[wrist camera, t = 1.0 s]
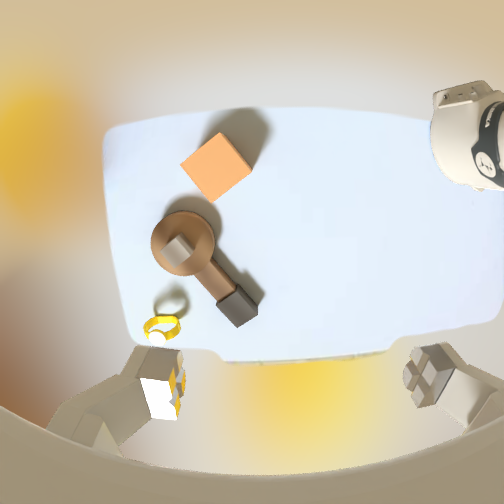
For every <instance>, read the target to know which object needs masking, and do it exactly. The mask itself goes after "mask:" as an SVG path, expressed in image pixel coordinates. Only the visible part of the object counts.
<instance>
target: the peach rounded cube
mask: <svg viewBox="0 0 504 504" xmlns="http://www.w3.org/2000/svg"><path fill="white" fill-rule="evenodd" d="M180 166H181V167H182V168H183V169H184V171H185V172H186V173H187V174H188V175H189V177H190V178H191V179H192V180H193V182H194V183H195V184H196V185H197V187H198V188H199V189H200V190H201V191H202V193H203V194H204V195H205V196H206V198H207V199H208V200H209V201H210V203H212V202H214V201H215V200H216V199H218V198H219V197H220V196H221V195H223V194H224V193H225V192H226V191H228V190H229V189H230V188H232V187H233V186H234V185H235V184H237V183H238V182H239V181H241V180H242V179H243V178H245V177H246V176H247V175H249V174H250V173H251V172H252V168H251V167H250V166H249V165H248V163H247V162H246V161H245V160H244V158H243V157H242V156H241V155H240V153H239V152H238V151H237V150H236V148H235V147H234V146H233V145H232V143H231V142H230V141H229V140H228V138H227V137H226V136H225V135H223V134H222V133H220V132H219V133H218V134H217V135H215V136H214V137H213V138H212V139H210V140H209V141H208V142H207V143H205V144H204V145H203V146H202V147H200V148H199V149H198V150H197V151H196V152H194V153H193V154H192V155H191V156H190V157H188V158H187V159H186V160H185V161H184V162H183V163H181V164H180Z"/></svg>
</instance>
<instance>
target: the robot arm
mask: <svg viewBox="0 0 504 504" xmlns="http://www.w3.org/2000/svg"><path fill="white" fill-rule="evenodd" d="M444 96H445V98H444ZM433 105H434V115H433V119H432V122H431V130H430V139H431V147H432V151H433V155H434V158H435V160H436V162H437V164H438V166H439V168H440V170H441V171H442V172H443V174H444V175H445V176H446V177H447V178H448V179H449V180H451V181H452V182H454V183H456V184H459V185H468V186H470V187H471V188H472V189H474V190H475V191H479V192H482V191H483V190H484V189H485V188H486V189H494V190H504V93H502V92H501V91H499V90H497V91H493V90H492V89H491V87H490V86H489V85H488V84H487V83H486V82H485V81H475V82H471V83H467V84H463V85H459V86H455V87H452V88H448V89H445V90H441V91H438V92H435V93H434V94H433ZM410 358H411V361H409V363H407V364H406V366H405V369H404V371H403V381H404V384H405V386H406V388H407V389H409V390H410V391H412V394H411V397H412V399H413V401H414V402H415V405H416V406H417V408H421V407H426V406H430V405H434V404H435V406H436V407H438V408H439V409H440V410H442V411H443V412H445V413H446V414H447V415H448V416H450V417H451V418H452V419H453V420H455V421H456V422H457V423H459V424H460V425H461V426H463V427H464V428H465V429H466V430H465V431H464V432H463V434H462V435H461V436H459V437H456V438H454V439H451V440H449V441H446V442H444V443H441V444H439V445H436V446H433V447H430V448H427V449H424V450H421V451H418V452H415V453H411V454H408V455H404V456H401V457H397V458H394V459H389V460H385V461H382V462H377V463H373V464H368V465H363V466H357V467H352V468H346V469H339V470H332V471H325V472H316V473H305V474H291V475H231V474H230V475H229V474H216V473H206V472H197V471H189V470H181V469H175V468H170V467H164V466H158V465H153V464H149V463H144V462H140V461H136V460H132V459H128V458H124V456H123V454H122V453H121V451H120V449H119V448H118V446H119V445H121V444H122V443H123V442H124V441H125V440H127V439H128V438H129V437H130V436H132V435H133V434H134V433H135V432H136V431H137V430H138V429H140V428H141V427H142V426H143V425H144V424H146V423H147V422H148V421H149V420H150V419H151V418H152V417H157V418H164V419H172V420H177V417H178V414H179V410H180V406H181V404H180V399H179V398H181V397H182V396H183V395H184V390H185V382H186V380H185V370H184V369H183V368H182V362H183V355H182V352H181V350H174V349H166V348H159V347H151V346H144V345H137V346H136V347H135V348H134V350H133V352H132V354H131V356H130V357H129V359H128V361H127V363H126V365H125V366H124V368H123V370H122V372H121V374H120V375H114V376H112V377H110V378H108V379H106V380H105V381H103V382H101V383H99V384H97V385H95V386H93V387H91V388H89V389H88V390H86V391H84V392H82V393H80V394H78V395H76V396H74V397H72V398H70V399H68V400H66V401H64V402H62V403H61V404H60V406H59V408H58V409H57V411H56V413H55V414H54V416H53V417H52V419H51V421H50V422H49V424H48V426H47V427H46V429H44V428H41V427H39V426H37V425H35V424H33V423H31V422H29V421H27V420H25V419H23V418H21V417H19V416H18V415H16V414H14V413H12V412H10V411H8V410H7V409H5V408H3V407H2V406H0V504H504V380H502V379H499V378H497V377H495V376H493V375H491V374H489V373H487V372H485V371H483V370H480V369H478V368H476V367H474V366H472V365H467V364H466V363H465V362H464V361H463V360H462V358H461V357H460V356H459V355H458V353H457V352H456V351H455V350H454V349H453V348H452V346H451V345H450V344H449V343H447V342H441V343H436V344H432V345H425V346H418V347H414V349H413V350H412V352H411V354H410Z"/></svg>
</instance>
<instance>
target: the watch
mask: <svg viewBox="0 0 504 504" xmlns="http://www.w3.org/2000/svg"><path fill="white" fill-rule="evenodd" d="M158 323H174V324H176V326H175V327H174V328H173V329H171V330H170V331H167V332H163V331H161V330H158V329H155V330H152V331H151V332H148V330H149V329H150V328H151V327H152V326H154V325H156V324H158ZM143 329H144V332H145V335H146V337H147V338H148V339H149V340H150V341H151V342H152V343H153V344H154V345H157V346H162V345H164V344H165V343H166V340H169V339H172V338H174V337H175V336H176V335H177V334H178V333H179V332H180V329H181V327H180V323H179V320H178V318H177V317H175V316H173V315H171V316H155V317H153V318H151V319H149V320H148V321H147V322H146V323H145V324H144V327H143Z"/></svg>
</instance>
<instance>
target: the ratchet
mask: <svg viewBox="0 0 504 504" xmlns="http://www.w3.org/2000/svg"><path fill="white" fill-rule="evenodd" d="M214 248H215V236H214V233H213V230H212V228H211V226H210V225H209V223H208V222H207V221H206V220H205V219H204V218H203V217H201V216H200V215H198V214H196V213H194V212H190V211H177V212H174V213H172V214H170V215H168V216H167V217H165V218H164V219H163V220H161V221H160V222H159V223H158V224H157V225H156V227H155V228H154V230H153V233H152V236H151V250H152V253H153V256H154V258H155V260H156V261H157V262H158V264H159V265H160V266H161V267H162V268H163V269H165V270H166V271H168V272H170V273H172V274H174V275H178V276H190V275H194V276H195V277H196V278H197V279H198V280H199V281H200V282H201V284H202V285H203V286H204V287H205V288H206V289H207V290H208V291H209V292H210V294H211V295H212V296H213V297H214V298H215V299H216V300H217V303H216V306H217V307H218V308H219V309H220V311H221V312H222V313H223V314H224V315H225V316H226V317H227V318H228V319H229V320H230V321H231V322H232V323H233V324H234V325H235V326H236V327H237V328H238V327H239V326H241V325H243V324H244V323H246V322H247V321H249V320H251V319H252V318H254V317H255V316H257V315H258V306H257V305H256V304H255V302H254V301H253V300H252V299H251V298H250V297H249V296H248V294H247V293H246V292H245V291H244V290H243V289H242V288H241V286H240V285H239V284H235V283H234V282H233V281H232V280H231V279H230V278H229V276H228V275H227V274H226V273H225V272H224V271H223V269H222V268H221V267H220V266H219V265H218V264H217V262H216V261H215V260H214V259H213V258H212V257H211V256H212V254H213V251H214Z"/></svg>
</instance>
